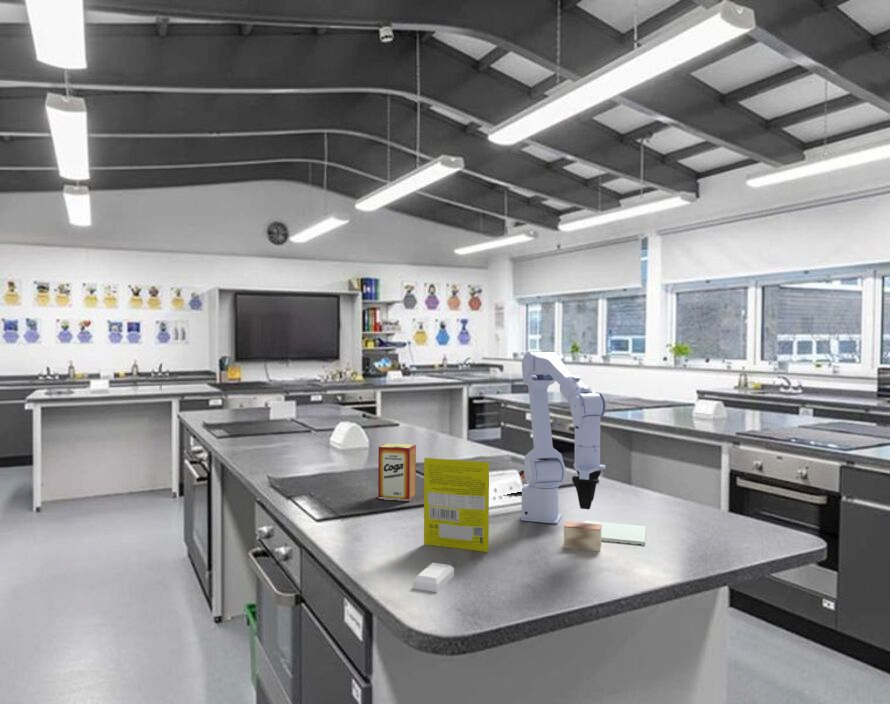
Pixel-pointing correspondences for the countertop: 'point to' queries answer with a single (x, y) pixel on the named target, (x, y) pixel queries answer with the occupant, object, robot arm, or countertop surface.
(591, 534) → the maple block
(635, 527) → the mat
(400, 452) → the baking soda box
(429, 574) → the soap bar
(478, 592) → the countertop surface
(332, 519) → the countertop surface
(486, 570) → the countertop surface
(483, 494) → the food package
